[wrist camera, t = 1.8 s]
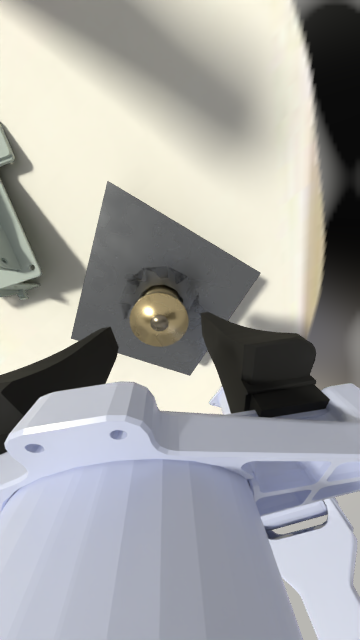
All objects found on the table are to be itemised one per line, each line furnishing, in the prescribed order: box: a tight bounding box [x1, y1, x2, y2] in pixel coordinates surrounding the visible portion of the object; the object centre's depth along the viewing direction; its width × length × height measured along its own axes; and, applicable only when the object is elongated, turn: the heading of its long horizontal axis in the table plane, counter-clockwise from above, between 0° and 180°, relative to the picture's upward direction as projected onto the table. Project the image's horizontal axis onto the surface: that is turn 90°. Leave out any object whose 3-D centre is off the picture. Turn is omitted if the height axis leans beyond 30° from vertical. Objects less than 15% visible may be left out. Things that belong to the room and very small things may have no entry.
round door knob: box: [130, 285, 188, 347], centre depth 16 cm, size 5×5×7 cm
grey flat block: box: [71, 181, 260, 375], centre depth 18 cm, size 16×16×4 cm
